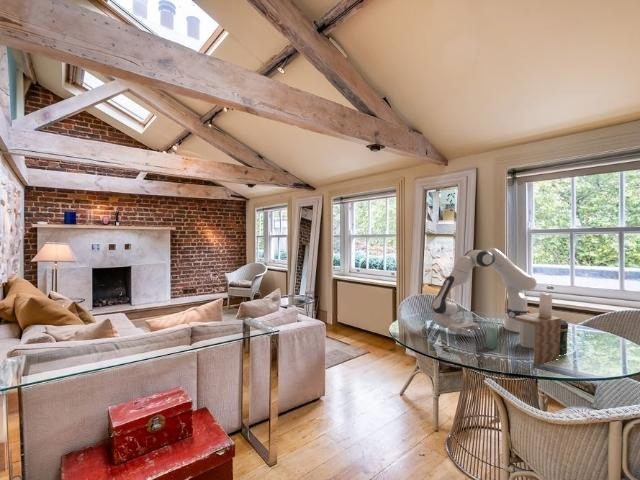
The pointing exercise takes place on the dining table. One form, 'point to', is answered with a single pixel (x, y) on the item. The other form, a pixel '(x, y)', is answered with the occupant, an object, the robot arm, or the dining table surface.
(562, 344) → the coffee jar
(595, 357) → the dining table surface
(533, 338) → the milk carton
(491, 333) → the sage green cylinder
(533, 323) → the walnut counter
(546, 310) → the white glossy cylinder
